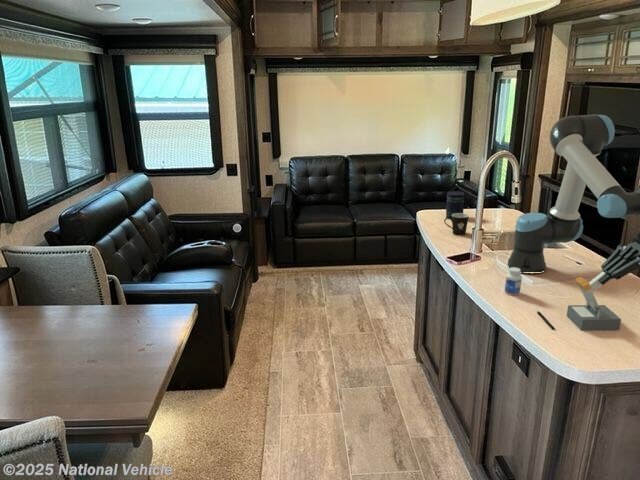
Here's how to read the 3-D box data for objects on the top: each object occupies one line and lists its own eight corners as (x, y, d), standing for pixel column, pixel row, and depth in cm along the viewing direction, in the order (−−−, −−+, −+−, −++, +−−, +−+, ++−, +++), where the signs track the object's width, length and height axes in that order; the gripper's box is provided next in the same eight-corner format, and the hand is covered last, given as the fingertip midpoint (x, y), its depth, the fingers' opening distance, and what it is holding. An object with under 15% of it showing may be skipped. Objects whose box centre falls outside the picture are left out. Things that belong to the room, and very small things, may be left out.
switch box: (602, 315, 160) (605, 298, 158) (619, 330, 150) (622, 312, 148) (566, 315, 160) (569, 298, 158) (580, 330, 151) (583, 312, 149)
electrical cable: (536, 312, 164) (536, 310, 163) (538, 312, 164) (539, 310, 163) (551, 330, 152) (552, 327, 152) (555, 330, 152) (555, 327, 152)
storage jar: (446, 219, 274) (447, 194, 269) (444, 215, 283) (446, 191, 278) (464, 220, 272) (465, 195, 267) (461, 215, 281) (463, 191, 276)
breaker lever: (594, 304, 156) (580, 276, 153) (603, 312, 151) (589, 283, 148) (588, 307, 157) (574, 279, 154) (597, 315, 151) (583, 286, 148)
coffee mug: (469, 232, 250) (470, 214, 247) (464, 236, 243) (466, 218, 240) (448, 229, 256) (449, 211, 253) (442, 233, 249) (443, 215, 246)
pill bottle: (501, 291, 180) (503, 268, 177) (512, 288, 182) (514, 265, 179) (512, 297, 175) (514, 273, 172) (523, 294, 177) (525, 270, 174)
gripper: (674, 253, 140) (608, 304, 146) (646, 239, 152) (586, 287, 158) (659, 236, 138) (593, 289, 144) (632, 224, 151) (573, 273, 157)
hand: (589, 288), depth 151 cm, fingers closed
